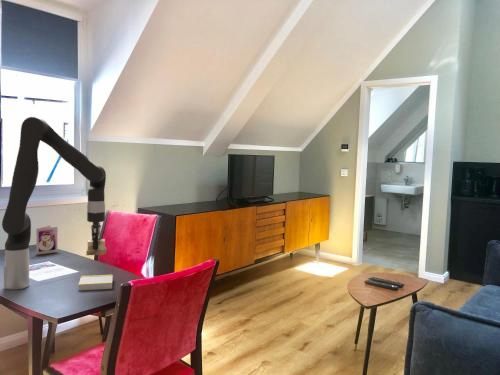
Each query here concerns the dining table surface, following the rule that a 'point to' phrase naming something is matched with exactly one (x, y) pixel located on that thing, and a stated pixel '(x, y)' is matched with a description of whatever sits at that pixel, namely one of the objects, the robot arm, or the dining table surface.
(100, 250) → the pallet
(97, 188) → the robot arm
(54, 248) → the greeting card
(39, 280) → the dining table surface
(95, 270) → the dining table surface
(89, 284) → the dock
